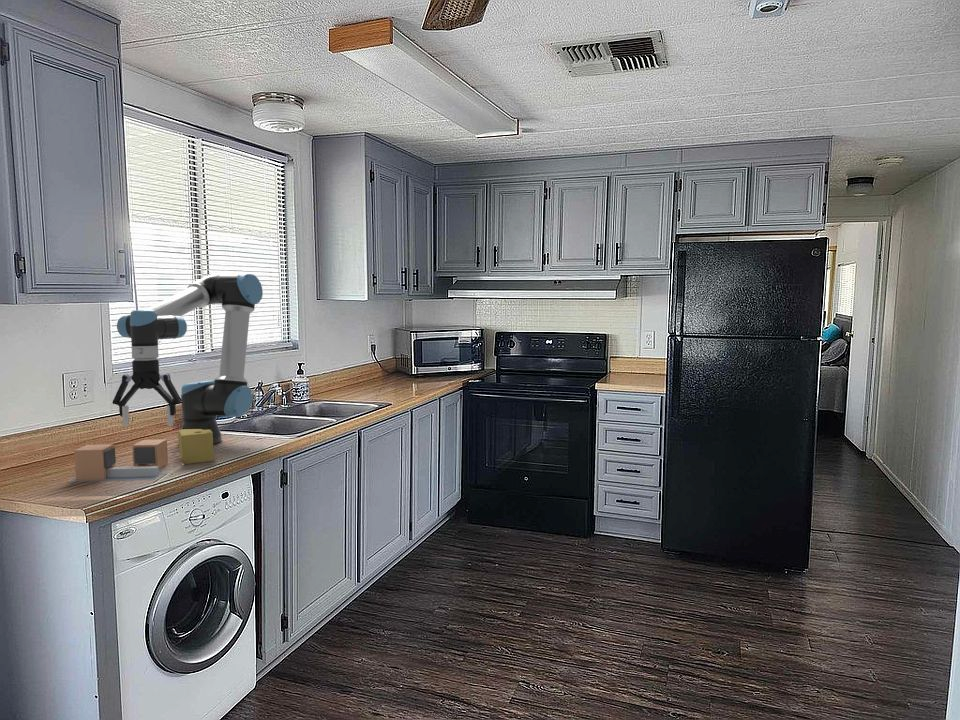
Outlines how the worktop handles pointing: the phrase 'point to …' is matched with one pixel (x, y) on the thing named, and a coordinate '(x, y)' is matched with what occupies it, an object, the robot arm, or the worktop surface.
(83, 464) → the block
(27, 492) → the worktop surface
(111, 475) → the rail
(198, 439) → the cheese
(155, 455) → the block
